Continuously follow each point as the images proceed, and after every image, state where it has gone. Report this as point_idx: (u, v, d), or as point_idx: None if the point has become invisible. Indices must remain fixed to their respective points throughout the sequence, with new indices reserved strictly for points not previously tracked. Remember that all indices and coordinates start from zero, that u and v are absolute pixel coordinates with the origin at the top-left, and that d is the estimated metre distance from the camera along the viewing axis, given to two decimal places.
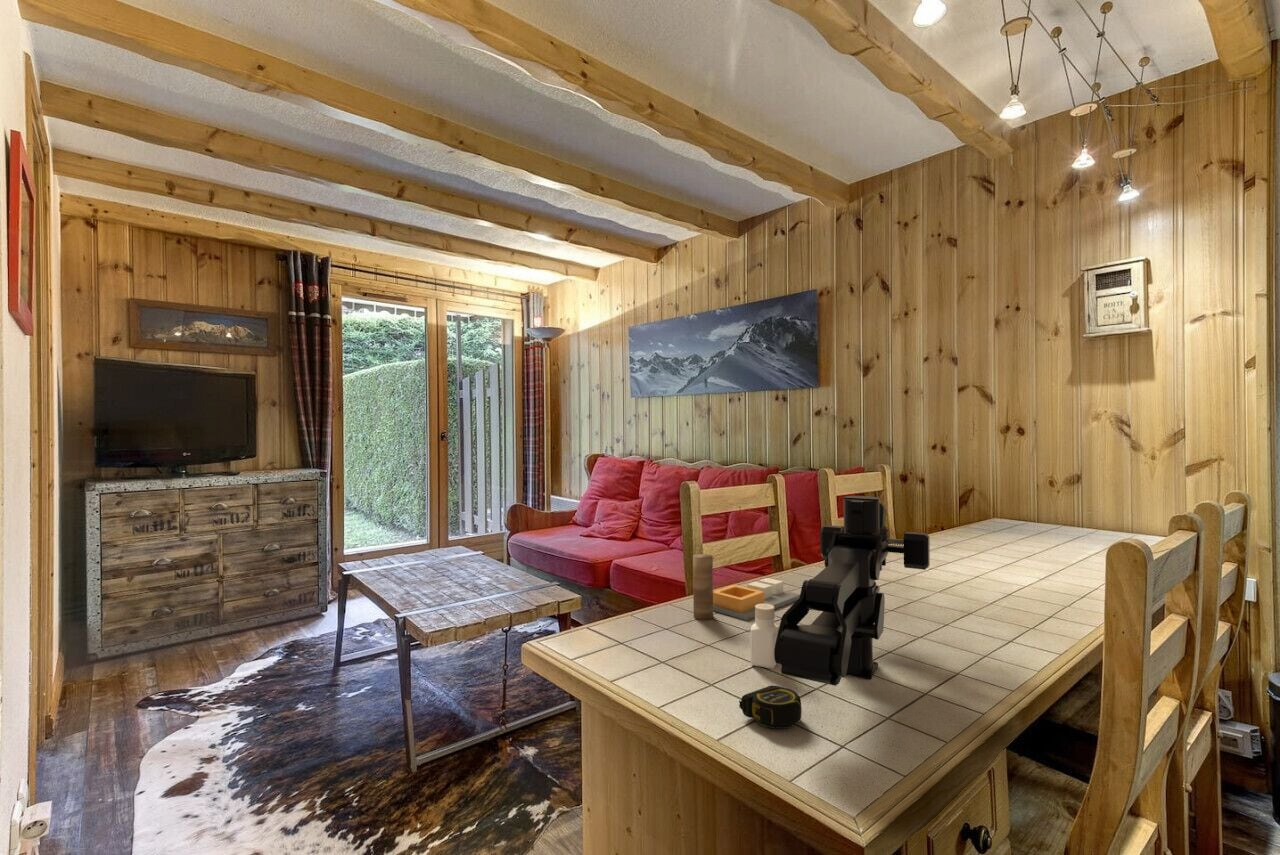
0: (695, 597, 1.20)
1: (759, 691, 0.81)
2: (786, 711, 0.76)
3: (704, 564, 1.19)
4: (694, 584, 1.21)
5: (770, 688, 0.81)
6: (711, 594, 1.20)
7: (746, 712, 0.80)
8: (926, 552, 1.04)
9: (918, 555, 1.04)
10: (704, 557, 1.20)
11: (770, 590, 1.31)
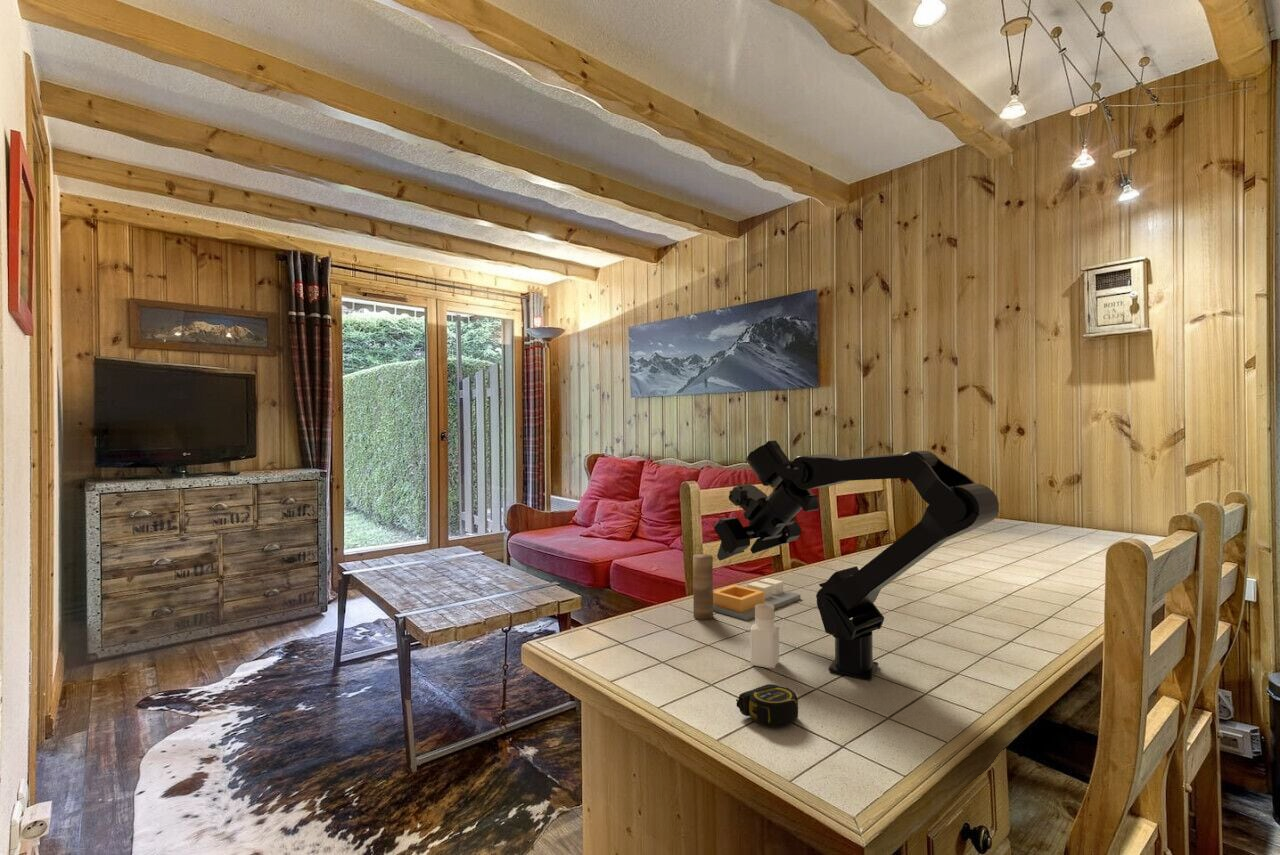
0: (695, 597, 1.20)
1: (756, 689, 0.81)
2: (783, 709, 0.77)
3: (704, 564, 1.19)
4: (694, 584, 1.21)
5: (767, 687, 0.82)
6: (711, 594, 1.20)
7: (743, 711, 0.80)
8: (794, 519, 1.15)
9: None
10: (704, 557, 1.20)
11: (770, 590, 1.31)
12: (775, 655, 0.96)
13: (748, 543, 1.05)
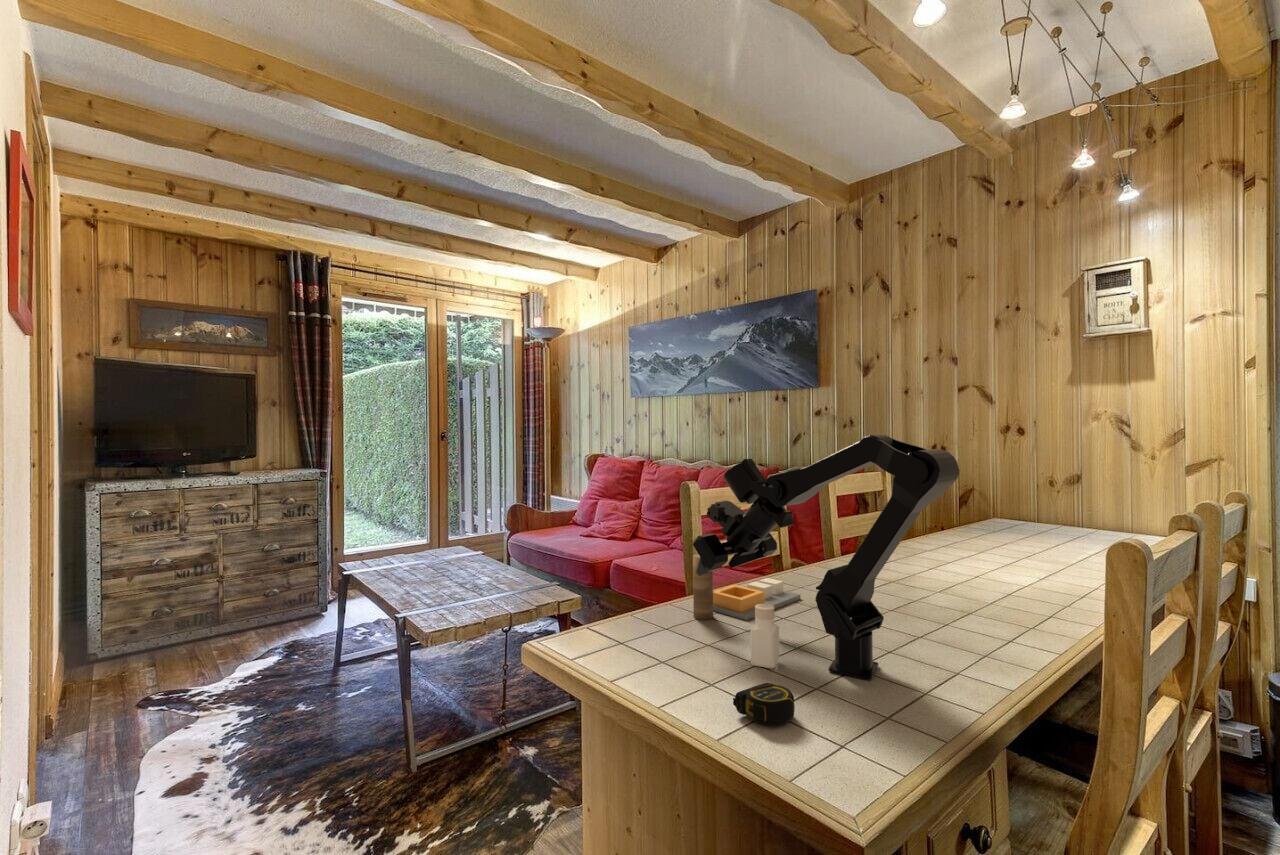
0: (695, 597, 1.20)
1: (753, 688, 0.81)
2: (779, 708, 0.77)
3: None
4: (694, 584, 1.21)
5: (764, 685, 0.82)
6: (711, 594, 1.20)
7: (740, 709, 0.80)
8: (770, 534, 1.19)
9: None
10: None
11: (770, 590, 1.31)
12: (775, 655, 0.96)
13: (726, 559, 1.08)
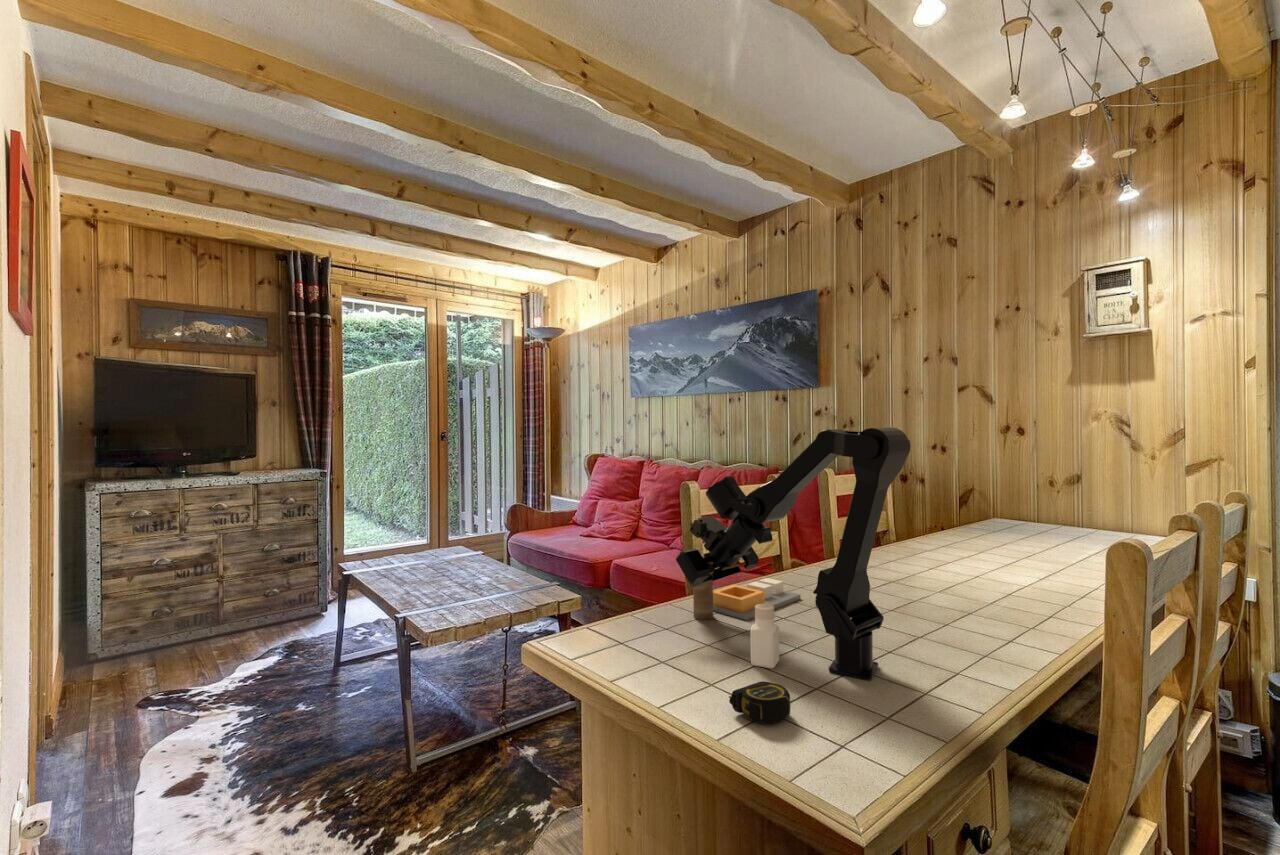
0: (695, 597, 1.20)
1: (749, 686, 0.82)
2: (775, 706, 0.77)
3: None
4: None
5: (760, 684, 0.83)
6: (711, 594, 1.20)
7: (736, 707, 0.81)
8: (752, 548, 1.23)
9: (750, 550, 1.22)
10: None
11: (770, 590, 1.31)
12: (775, 655, 0.96)
13: (708, 573, 1.12)
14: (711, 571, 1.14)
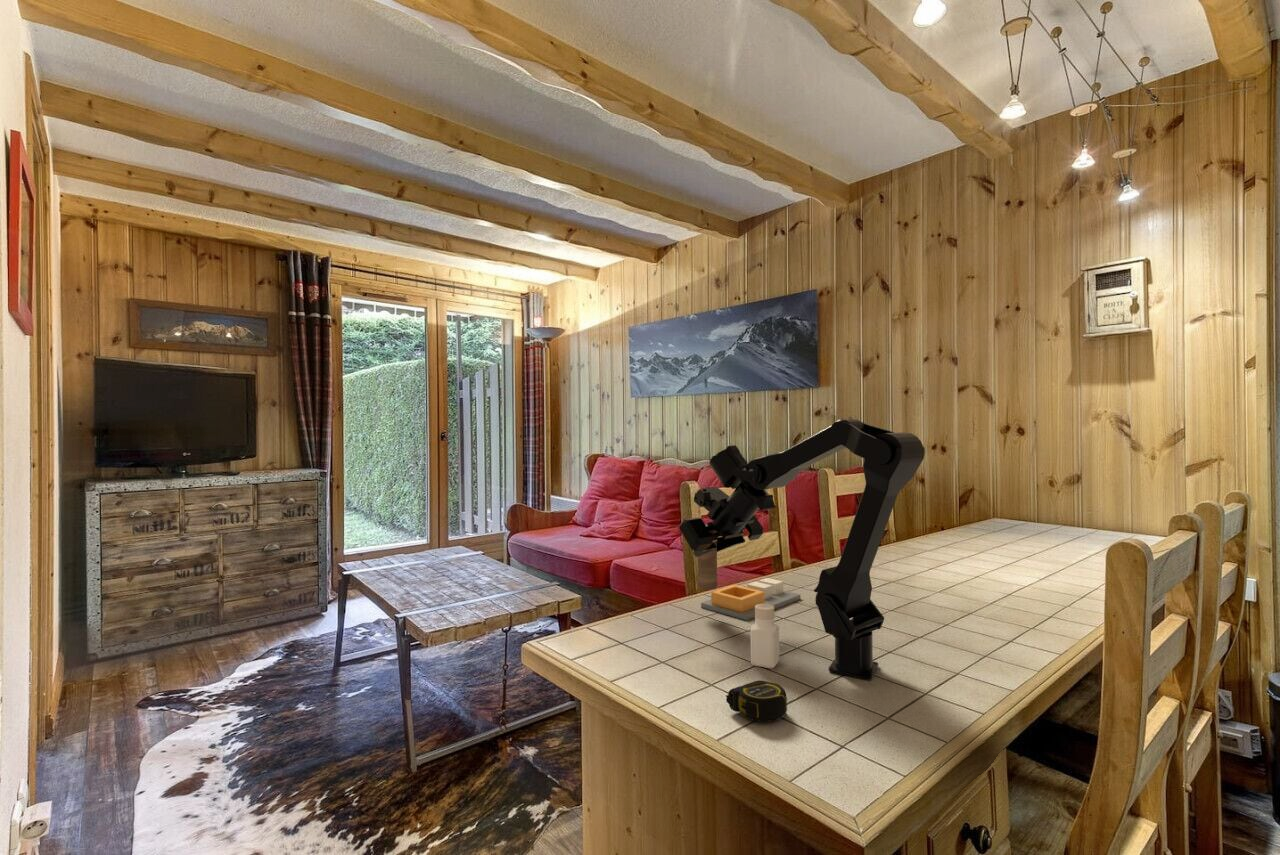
0: (699, 567, 1.21)
1: (746, 685, 0.82)
2: (771, 705, 0.78)
3: None
4: None
5: (756, 683, 0.83)
6: (715, 564, 1.21)
7: (733, 706, 0.81)
8: (756, 519, 1.23)
9: (755, 521, 1.22)
10: None
11: (770, 590, 1.31)
12: (775, 655, 0.96)
13: (710, 541, 1.13)
14: (714, 539, 1.15)
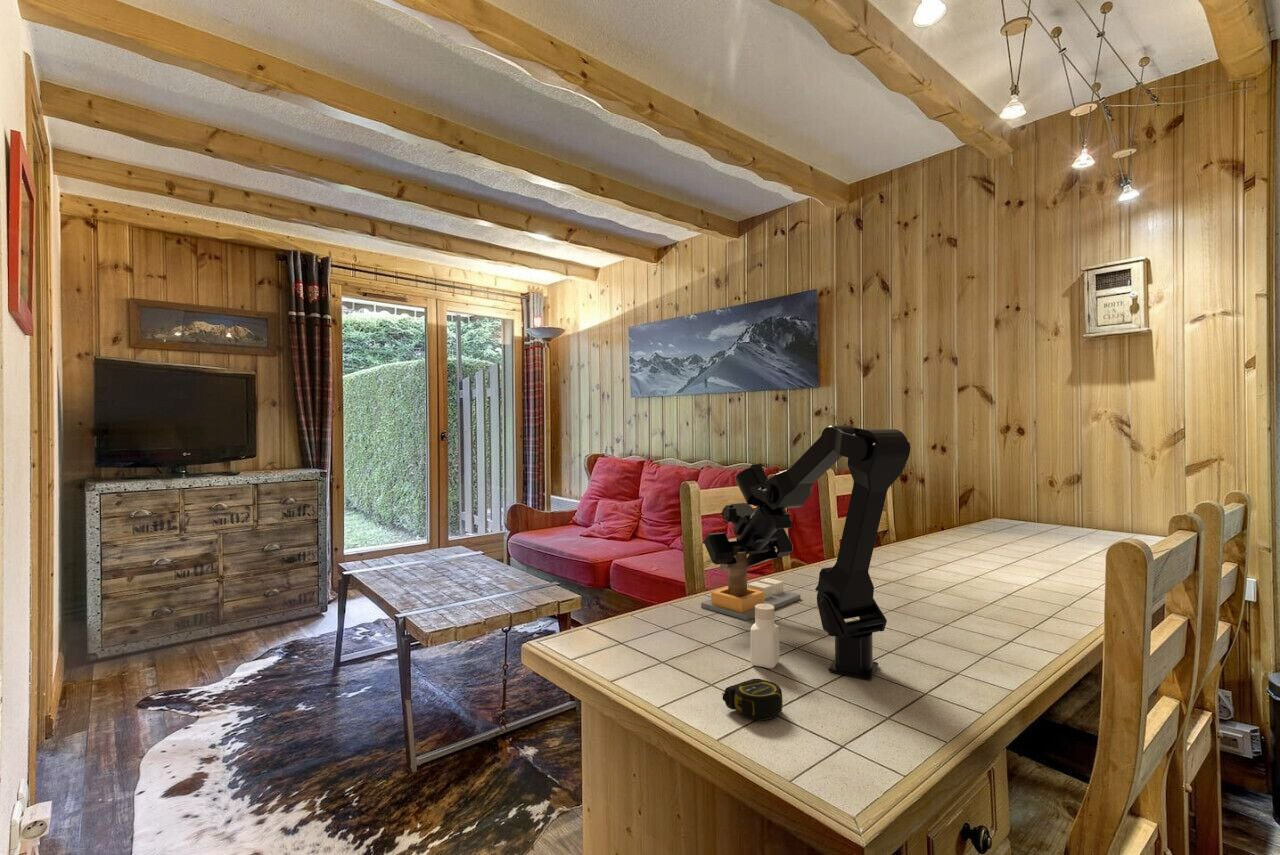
0: (729, 584, 1.26)
1: (742, 683, 0.83)
2: (767, 703, 0.78)
3: None
4: (728, 571, 1.26)
5: (753, 681, 0.84)
6: (744, 582, 1.25)
7: (729, 704, 0.82)
8: (787, 536, 1.25)
9: (785, 538, 1.24)
10: None
11: (770, 590, 1.31)
12: (775, 655, 0.96)
13: (731, 556, 1.18)
14: None
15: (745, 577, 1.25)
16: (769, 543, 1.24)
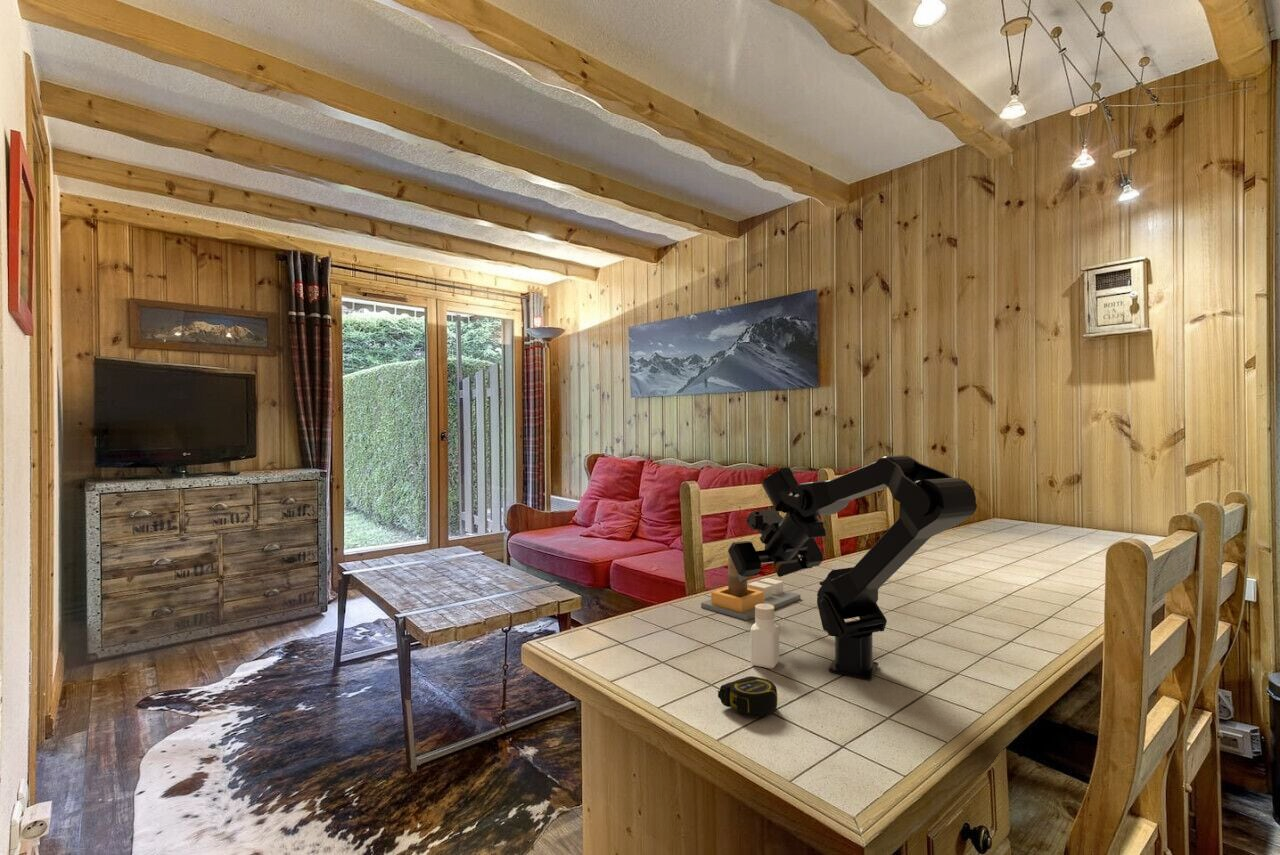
0: (729, 584, 1.26)
1: (737, 681, 0.84)
2: (762, 700, 0.79)
3: None
4: (728, 571, 1.26)
5: (748, 678, 0.84)
6: (744, 582, 1.25)
7: (724, 701, 0.83)
8: (817, 544, 1.17)
9: (815, 547, 1.15)
10: None
11: (770, 590, 1.31)
12: (775, 655, 0.96)
13: (759, 567, 1.09)
14: None
15: None
16: None
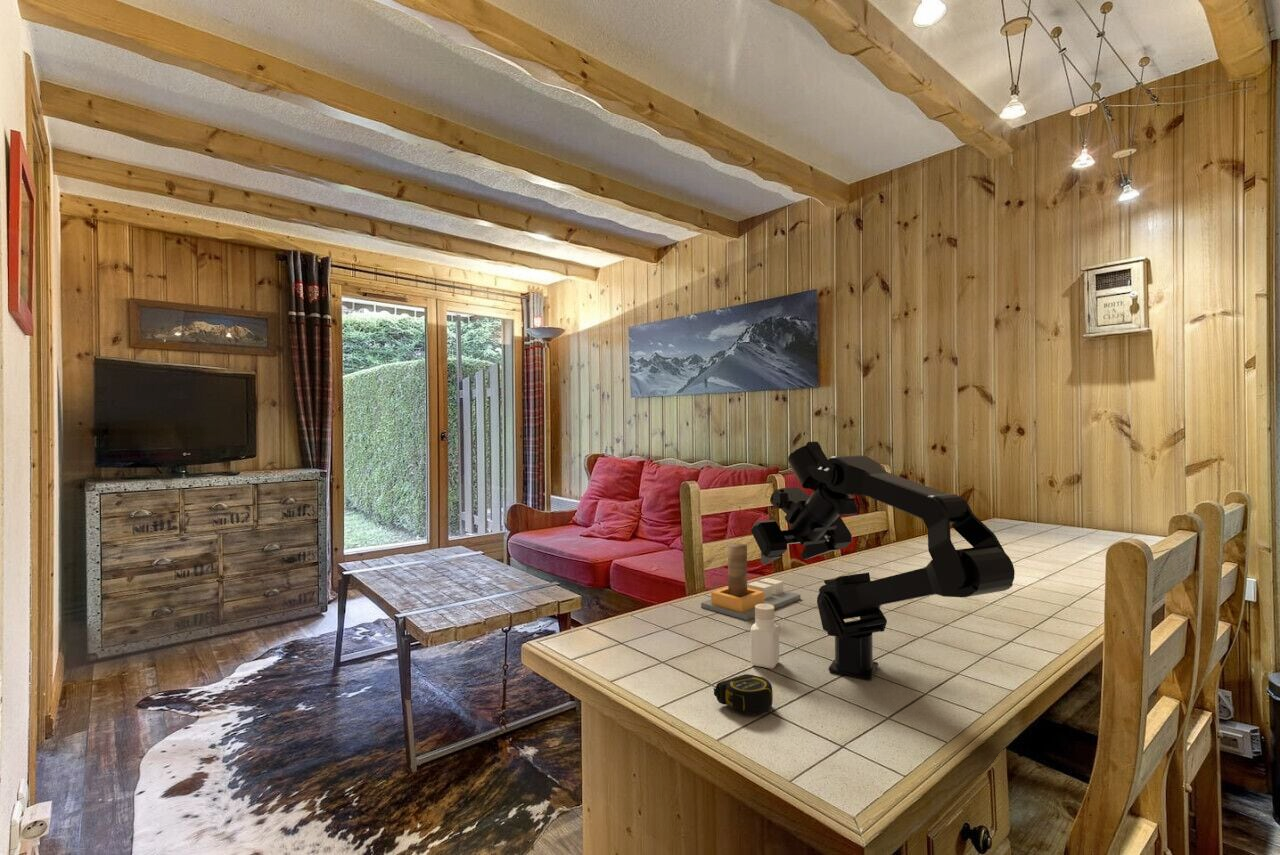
0: (729, 584, 1.26)
1: (733, 679, 0.84)
2: (757, 697, 0.80)
3: (736, 552, 1.25)
4: (728, 571, 1.26)
5: (743, 676, 0.85)
6: (744, 582, 1.25)
7: (720, 699, 0.83)
8: (845, 525, 1.10)
9: (842, 527, 1.08)
10: (737, 546, 1.25)
11: (770, 590, 1.31)
12: (775, 655, 0.96)
13: (785, 547, 1.02)
14: None
15: (745, 577, 1.25)
16: None
